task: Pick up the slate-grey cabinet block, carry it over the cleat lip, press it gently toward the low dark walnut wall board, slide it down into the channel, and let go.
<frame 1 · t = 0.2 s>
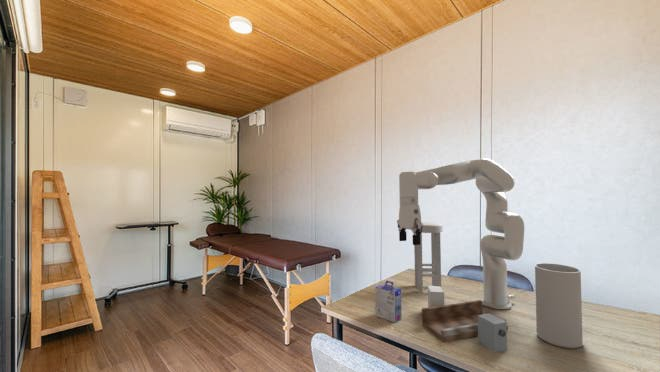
hand: (409, 242, 118), 31 cm above the table, tool pointing down, fingers open, 9 cm apart
cabinet block: (492, 345, 96), on the table
ink cartridge box: (388, 317, 118), on the table
cylinder vase: (558, 340, 99), on the table
small box: (436, 314, 121), on the table
stool: (427, 289, 151), on the table
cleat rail: (464, 327, 108), on the table
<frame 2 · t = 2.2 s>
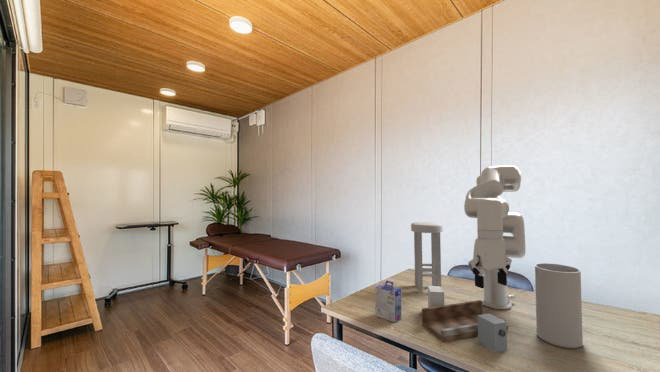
hand: (490, 285, 96), 20 cm above the table, tool pointing down, fingers open, 9 cm apart
nothing on the table moved.
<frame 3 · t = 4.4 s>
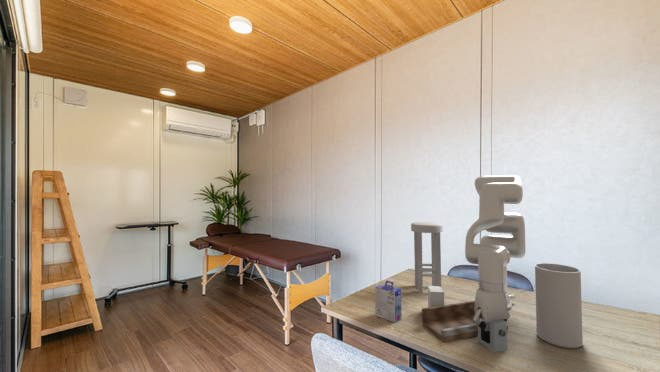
hand: (492, 339, 96), 2 cm above the table, tool pointing down, fingers closed on cabinet block, 5 cm apart
cabinet block: (492, 345, 96), on the table, touching gripper
everything else where it was.
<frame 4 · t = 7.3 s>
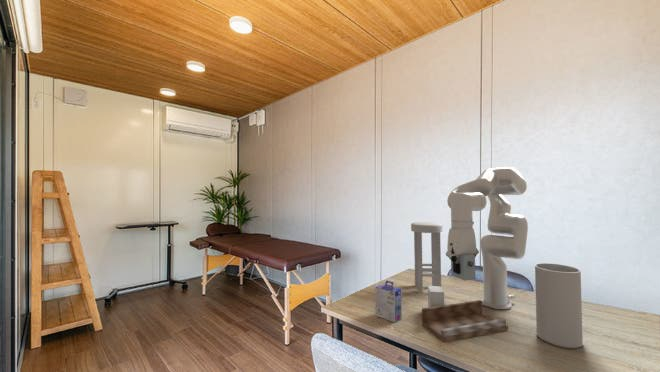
hand: (462, 271, 109), 21 cm above the table, tool pointing down, fingers closed on cabinet block, 5 cm apart
cabinet block: (463, 277, 109), point 19 cm above the table, touching gripper
everything else where it was.
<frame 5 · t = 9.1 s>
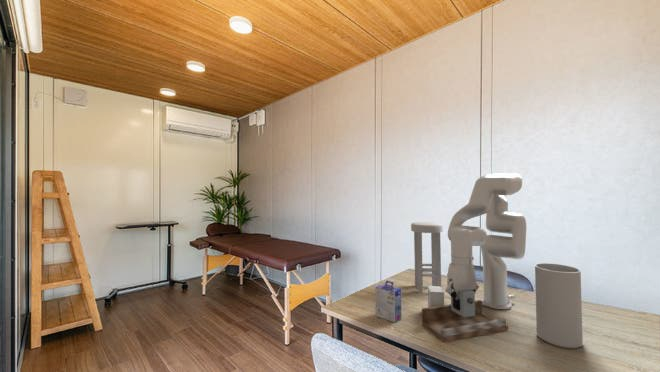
hand: (462, 307, 109), 7 cm above the table, tool pointing down, fingers closed on cabinet block, 5 cm apart
cabinet block: (462, 312, 109), point 5 cm above the table, touching gripper
everything else where it was.
when the fingers open (4 cm above the table, at t = 10.5 s): cabinet block stays where it is, resting on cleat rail.
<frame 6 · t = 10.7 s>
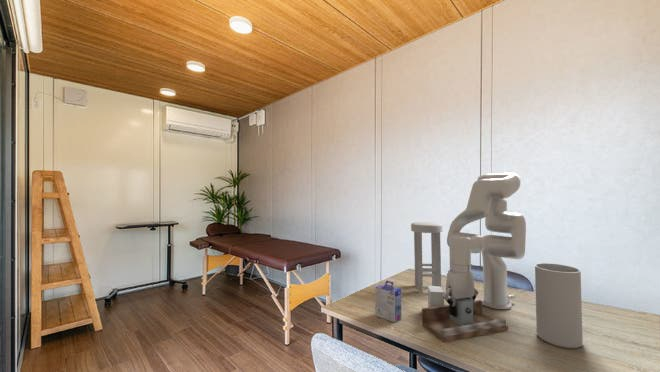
hand: (461, 313, 110), 5 cm above the table, tool pointing down, fingers open, 6 cm apart
cabinet block: (461, 322, 110), point 1 cm above the table, touching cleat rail
everything else where it was.
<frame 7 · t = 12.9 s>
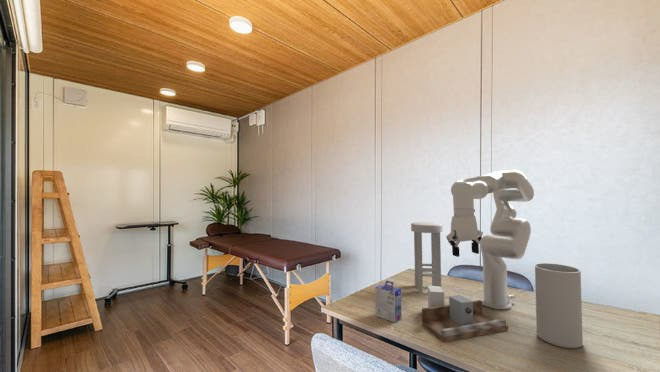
hand: (465, 254, 116), 26 cm above the table, tool pointing down, fingers open, 9 cm apart
nothing on the table moved.
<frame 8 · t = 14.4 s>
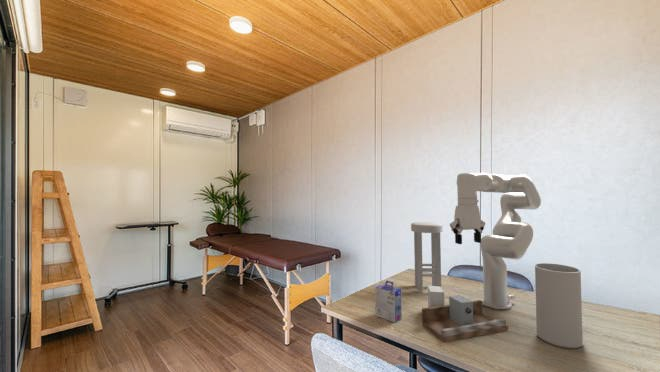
hand: (468, 243, 120), 30 cm above the table, tool pointing down, fingers open, 9 cm apart
nothing on the table moved.
at the end: cabinet block inside the target area on the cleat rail (0.1 cm from its centre), point 1.5 cm above the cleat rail's base; cabinet block tilted 0°; the gripper is holding nothing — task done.
